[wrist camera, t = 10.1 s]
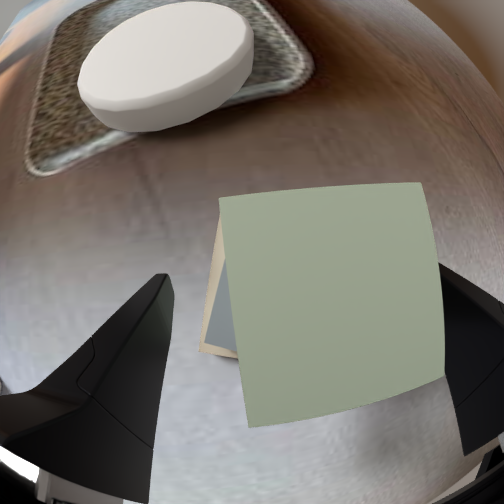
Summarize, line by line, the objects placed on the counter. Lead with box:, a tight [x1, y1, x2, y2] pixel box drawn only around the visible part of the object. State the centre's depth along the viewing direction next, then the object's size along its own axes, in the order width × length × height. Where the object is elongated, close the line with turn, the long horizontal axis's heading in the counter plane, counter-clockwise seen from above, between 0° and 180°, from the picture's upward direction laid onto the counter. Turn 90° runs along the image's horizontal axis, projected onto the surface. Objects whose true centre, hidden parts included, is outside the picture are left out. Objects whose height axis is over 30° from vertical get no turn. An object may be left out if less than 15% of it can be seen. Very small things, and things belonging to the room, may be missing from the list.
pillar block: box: [219, 182, 445, 428], centre depth 11 cm, size 4×4×12 cm
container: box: [78, 2, 254, 133], centre depth 24 cm, size 20×20×5 cm
